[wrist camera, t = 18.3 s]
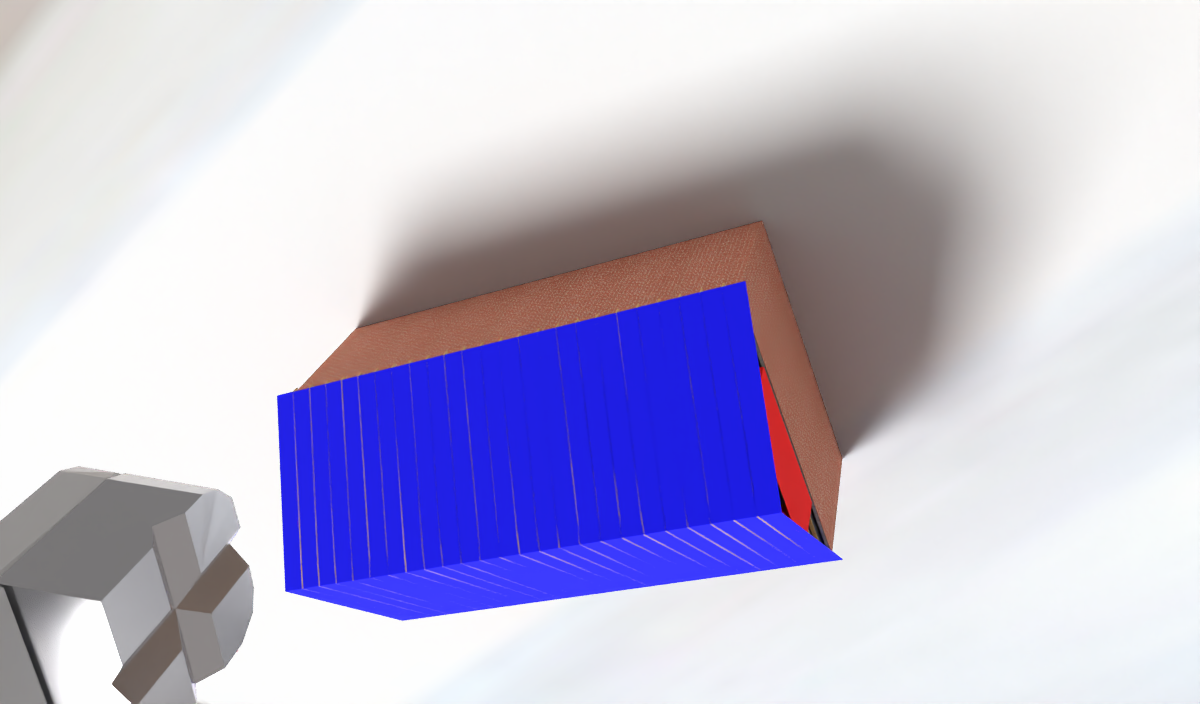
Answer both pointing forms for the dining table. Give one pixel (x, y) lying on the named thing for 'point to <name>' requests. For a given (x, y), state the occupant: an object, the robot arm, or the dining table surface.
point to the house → (563, 440)
